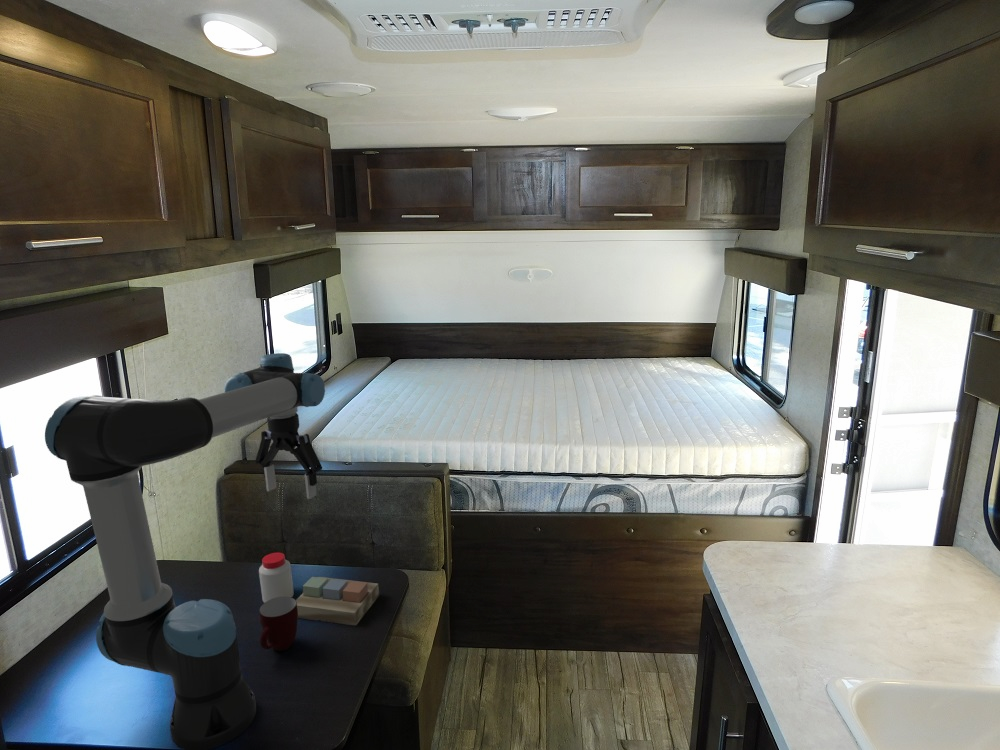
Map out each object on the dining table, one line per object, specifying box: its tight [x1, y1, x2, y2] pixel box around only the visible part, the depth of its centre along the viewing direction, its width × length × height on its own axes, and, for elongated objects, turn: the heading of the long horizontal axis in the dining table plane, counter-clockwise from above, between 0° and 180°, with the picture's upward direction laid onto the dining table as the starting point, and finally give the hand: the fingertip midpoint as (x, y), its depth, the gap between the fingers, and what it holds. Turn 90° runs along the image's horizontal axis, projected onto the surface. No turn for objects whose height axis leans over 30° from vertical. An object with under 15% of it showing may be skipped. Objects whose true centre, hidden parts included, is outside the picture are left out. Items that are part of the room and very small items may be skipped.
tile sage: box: [302, 576, 328, 598], centre depth 160 cm, size 4×4×3 cm
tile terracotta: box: [343, 580, 368, 603], centre depth 157 cm, size 4×4×3 cm
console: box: [295, 576, 380, 626], centre depth 159 cm, size 13×17×3 cm
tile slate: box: [323, 578, 347, 601], centre depth 158 cm, size 4×4×3 cm
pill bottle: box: [258, 552, 295, 604], centre depth 163 cm, size 8×8×11 cm
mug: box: [258, 597, 298, 652], centre depth 142 cm, size 11×8×10 cm
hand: (291, 493), depth 165 cm, fingers open, 13 cm apart
